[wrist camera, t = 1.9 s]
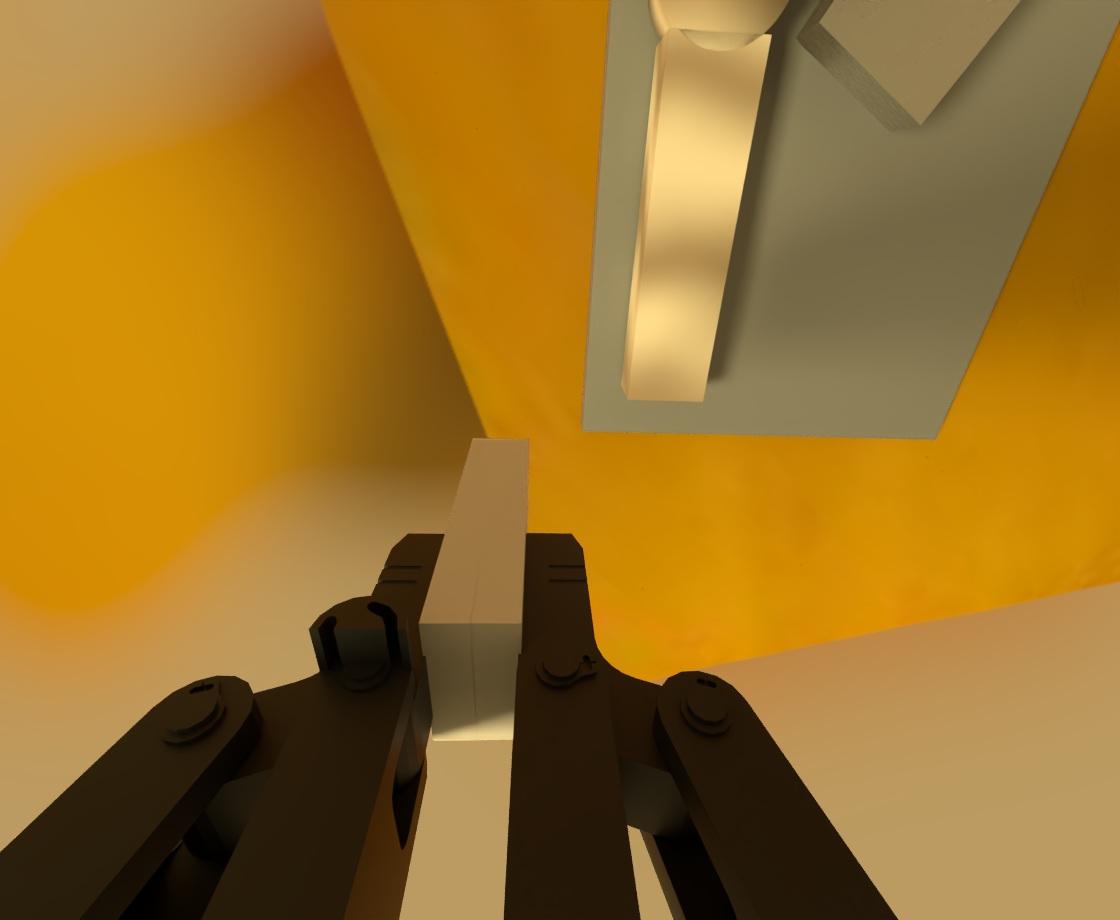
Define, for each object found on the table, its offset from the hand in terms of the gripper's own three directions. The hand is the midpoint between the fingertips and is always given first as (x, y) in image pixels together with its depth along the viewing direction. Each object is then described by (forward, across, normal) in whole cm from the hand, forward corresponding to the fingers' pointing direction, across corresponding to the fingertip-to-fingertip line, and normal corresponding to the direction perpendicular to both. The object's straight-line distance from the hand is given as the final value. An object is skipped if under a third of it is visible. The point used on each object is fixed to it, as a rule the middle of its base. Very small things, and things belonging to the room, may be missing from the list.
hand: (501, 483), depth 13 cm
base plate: (+16, +15, +8) cm, 23 cm away
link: (+14, +8, +8) cm, 18 cm away
